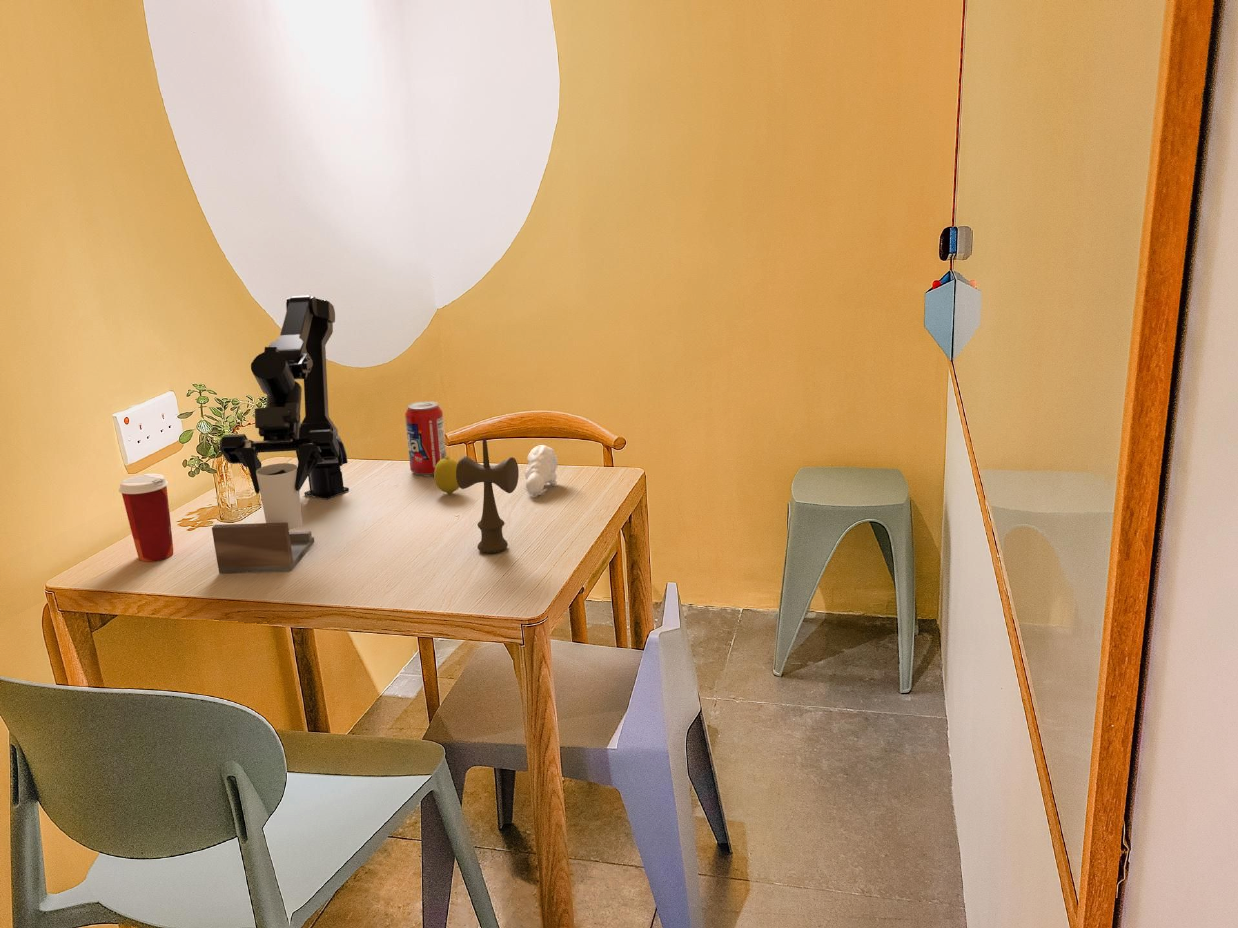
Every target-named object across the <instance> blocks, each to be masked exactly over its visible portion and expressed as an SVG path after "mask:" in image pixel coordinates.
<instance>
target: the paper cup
mask: <svg viewBox="0 0 1238 928" xmlns="http://www.w3.org/2000/svg"><path fill="white" fill-rule="evenodd" d="M168 485H169V482H168V480H166V477H165V476H164V474H160V473H144V474H143V473H142V474H138V475H137V474H136V475H132V476H130V477H127V478H125V479H123V480H122V481H121V482H120V487H119V488H118V491H119V492H118V493H121V496H122V500H123V504H124V507H125V511H126V515H127V519H128V524H129V527H130V531H131V534H132V535H131V536H132V539H133V542H134V547H135V551H136V554H137V556H138V559H139V561H141V562H144V563H146V562H147V563H154V562H159V561H163V560H166V559H168V558H170V557H172V556H173V555H174V543H173V534H172V533H173V532H172V522H171V521H172V520H171V516H170V515H171V514H170V505H169V497H168V487H167V486H168Z"/></svg>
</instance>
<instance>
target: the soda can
mask: <svg viewBox="0 0 1238 928" xmlns="http://www.w3.org/2000/svg"><path fill="white" fill-rule="evenodd" d="M404 420H405V428H406V431H405V432H406V439H407V449H408V458H409V459H408V461H409V469H410V471H411V473H413V474H415V475H417V476H420V477H431V476H433V477H434V471H435V467H436V465H437V463H438V462H439V461H440V460H441V459H443V458H445V457H446V456H447V448H446V447H447V446H446V437H445V436H446V435H445V426H444V415H443V410H442V408H441V407H440V406H439V402H436V401H430V400H429V401H417V402H412V403H409V404H408V405H407V409H406V411H405V413H404Z"/></svg>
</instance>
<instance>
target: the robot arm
mask: <svg viewBox="0 0 1238 928" xmlns="http://www.w3.org/2000/svg"><path fill="white" fill-rule="evenodd" d="M285 307H286V310H285V311H286V312H285V315H284V316H285V317H284V320H283V323H282V327H281V329H280V334H279V336H278V337H279V338H277V339H275V340H274V341H272V342H270V344H269V345H268V346H264V352H260V353H259V354H258V355H256V356H255V358H254V359H253V360H252V361H251V364H250V370H251V372H252V374H253V376H254V378H255V380H256V382H257V384H258V385H259V388H260V390H261V392H262V393H263V394H266V406H265V407H257V408H254V428H255V429H258V435H259V437H263V439H262V440H252V439H249V438H248V437H247V435H246V434H245V433H242V434H238V433H237V434H224V435H223V436H222V437H221V438H220V439H219V447H218V448H219V451H220V452H221V454H222V455H223V457H224V458H225V460H226V461H227V463H228V464H232V465H234V464H235V465H236V464H241V465H242V466H243V467H245V468H247V469H248V472H249V476H250V478H251V482H252V485H253V488H254V489H253V490H254V492H255V493H256V494H259V493H260V490H259V485H258V480H257V475H256V470H258V469H259V468H261V467H263V463H261V462H262V461H260V459H259V457H258V456H259V454H260V453H278V452H279V453H280V452H295V453H296V458H297V474H296V481H295V489H296V491H299V492H300V490H301V489H302V487H303V486H304V484H305V482H306V481H307V478H308V485H309V490H307V491H305V492H303V494H304V495H305V496H308V497H313V498H319V499H324V500H327V499H330V498H334V497H335V496H338V495H340V494H343V493H346V492H348V491H349V490H350V489H349V487H347V486H344V478H343V471H342V470H341V467H343V465H346V464H348V455H347V451H346V448H345V445H344V443H343V441H342V438H341V437H340V436H339V431H338V428H337V427H336V425H335V424H334V423H333V421H332V419H331V418H330V415H329V414H330V413H329V396H328V394H329V393H328V374H327V372H328V371H327V355H326V353H327V352H326V351H327V350H326V344H327V343H328V341H329V339H330V338H331V336H332V335H333V332H334V329H333V327H334V325H333V323H335V322H336V312H335V307H334V305H333V304H332V303H331V302H330V301H328V300H327V299H321V298H316V296H311V295H307V294H306V295H291V296H289V297H287V298H286V302H285ZM296 380H303V388H302V386H301V385H300V383H299V382H297V381H296ZM302 391H303V395H304V414H305V415H304V418H303V420H302V421H301V408H302V407H301V406H302Z"/></svg>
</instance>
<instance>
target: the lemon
mask: <svg viewBox="0 0 1238 928" xmlns="http://www.w3.org/2000/svg"><path fill="white" fill-rule="evenodd" d="M458 462H459V461H457V460H456V459H454V458H452V457H449V456H447V455H446V457H445V458H443V459H441V460H440V461H439V462H438V463H437V465H436V467H435V471H434V475H433V477H434V482H435V485H436V486H437V488H438V490H440V491H441V492H444V493H446V494H447V495H449V496H450V495H453V493H454V492H455V491H457V490H458V489H459V486H458V484H457V480H456V468H457V464H458Z"/></svg>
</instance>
